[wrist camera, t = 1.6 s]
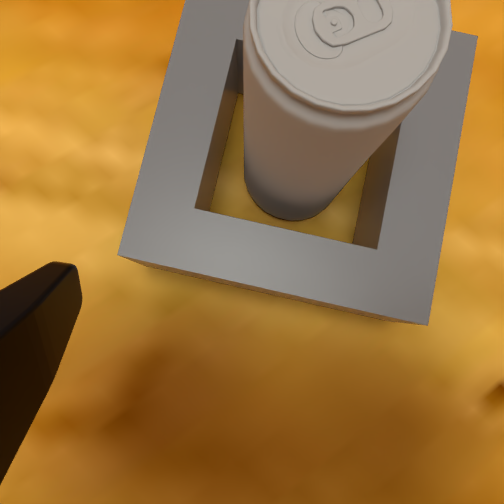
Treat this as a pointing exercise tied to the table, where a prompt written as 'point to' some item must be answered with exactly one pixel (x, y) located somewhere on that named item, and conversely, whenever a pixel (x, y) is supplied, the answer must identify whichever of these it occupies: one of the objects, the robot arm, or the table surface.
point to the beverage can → (330, 90)
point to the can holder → (283, 240)
